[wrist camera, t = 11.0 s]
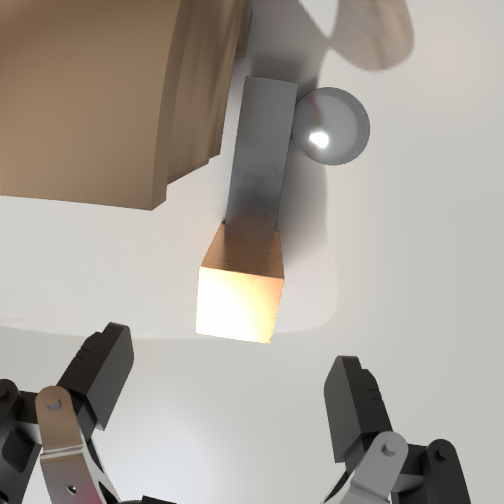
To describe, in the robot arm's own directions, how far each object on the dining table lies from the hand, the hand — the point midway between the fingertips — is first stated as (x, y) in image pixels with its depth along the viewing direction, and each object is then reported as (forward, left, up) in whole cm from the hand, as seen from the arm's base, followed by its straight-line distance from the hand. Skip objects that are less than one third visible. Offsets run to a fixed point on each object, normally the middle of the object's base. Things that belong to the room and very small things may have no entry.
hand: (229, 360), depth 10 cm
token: (-9, +4, -11) cm, 15 cm away
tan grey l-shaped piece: (-4, 0, -11) cm, 12 cm away
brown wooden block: (-12, -9, -11) cm, 18 cm away
